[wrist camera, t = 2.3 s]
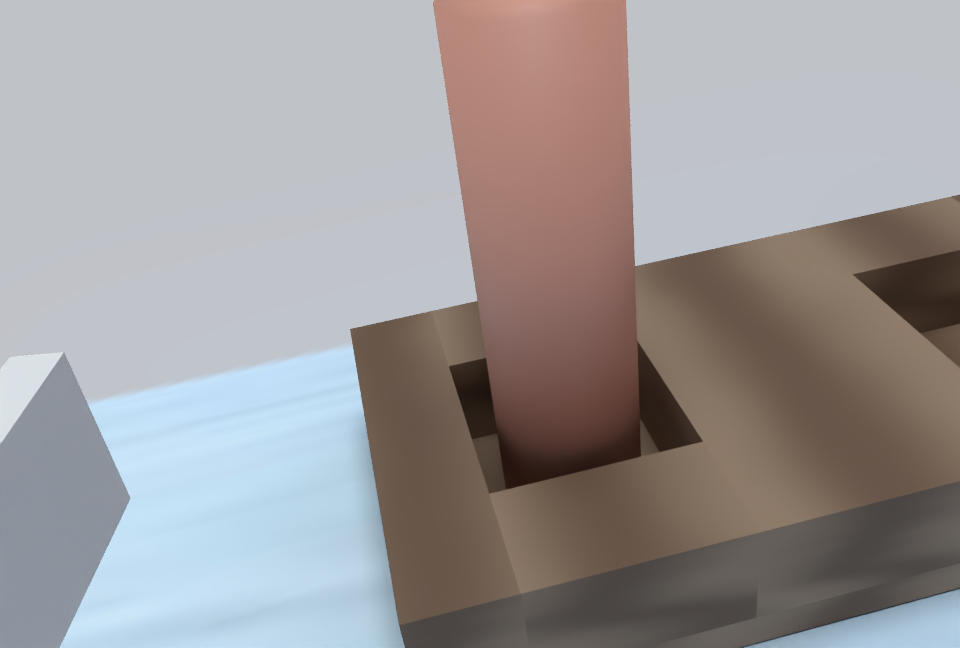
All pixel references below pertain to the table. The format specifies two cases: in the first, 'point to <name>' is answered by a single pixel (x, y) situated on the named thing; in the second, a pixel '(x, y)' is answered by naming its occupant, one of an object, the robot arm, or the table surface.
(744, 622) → the hole board
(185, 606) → the table surface
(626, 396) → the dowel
